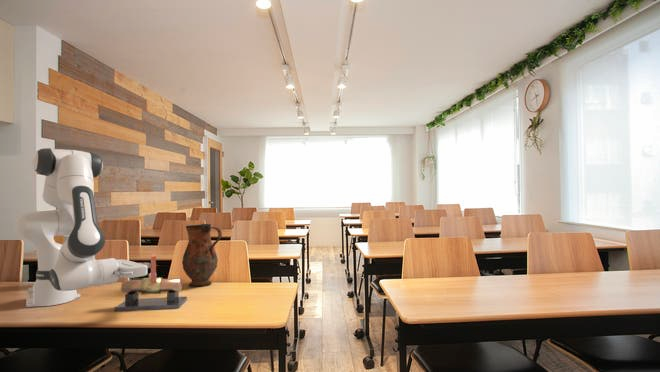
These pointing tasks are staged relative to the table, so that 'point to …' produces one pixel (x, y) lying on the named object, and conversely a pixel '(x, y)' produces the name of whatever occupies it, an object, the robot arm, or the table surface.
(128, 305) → the valve
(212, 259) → the pitcher
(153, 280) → the valve lever
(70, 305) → the table surface
